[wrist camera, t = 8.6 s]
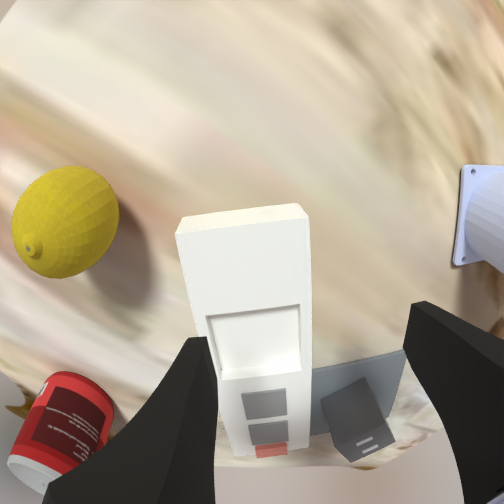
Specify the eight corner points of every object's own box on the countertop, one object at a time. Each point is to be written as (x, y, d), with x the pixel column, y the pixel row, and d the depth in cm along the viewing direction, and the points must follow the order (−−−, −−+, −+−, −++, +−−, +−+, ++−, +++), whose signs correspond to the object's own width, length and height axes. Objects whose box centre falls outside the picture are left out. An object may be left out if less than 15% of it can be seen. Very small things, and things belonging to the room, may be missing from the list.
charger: (364, 376, 25) (386, 423, 20) (376, 399, 27) (396, 442, 21) (320, 398, 26) (335, 447, 20) (336, 418, 27) (350, 463, 22)
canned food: (61, 414, 26) (32, 492, 16) (36, 362, 23) (-11, 448, 13) (123, 426, 27) (103, 515, 17) (104, 374, 24) (68, 479, 14)
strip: (182, 217, 19) (173, 237, 16) (297, 202, 19) (311, 220, 16) (237, 446, 29) (239, 473, 26) (303, 438, 29) (308, 464, 26)
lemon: (153, 200, 18) (106, 252, 11) (101, 257, 19) (47, 326, 12) (93, 138, 16) (16, 156, 9) (47, 201, 18) (-28, 246, 10)
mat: (406, 348, 25) (407, 351, 24) (387, 414, 29) (388, 416, 28) (297, 371, 24) (298, 375, 24) (298, 434, 28) (299, 437, 28)
